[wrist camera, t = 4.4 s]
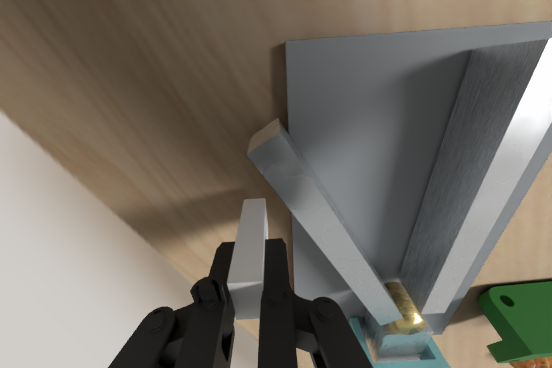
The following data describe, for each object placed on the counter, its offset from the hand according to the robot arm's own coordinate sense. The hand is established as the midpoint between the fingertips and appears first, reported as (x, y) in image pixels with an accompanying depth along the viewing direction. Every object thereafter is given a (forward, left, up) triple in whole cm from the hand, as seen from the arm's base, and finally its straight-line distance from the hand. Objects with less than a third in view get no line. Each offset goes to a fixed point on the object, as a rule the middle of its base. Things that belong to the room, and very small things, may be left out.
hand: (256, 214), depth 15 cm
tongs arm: (+2, +6, -1) cm, 6 cm away
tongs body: (+6, +13, -1) cm, 14 cm away
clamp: (+16, +29, -2) cm, 33 cm away
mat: (+6, +12, -2) cm, 13 cm away
